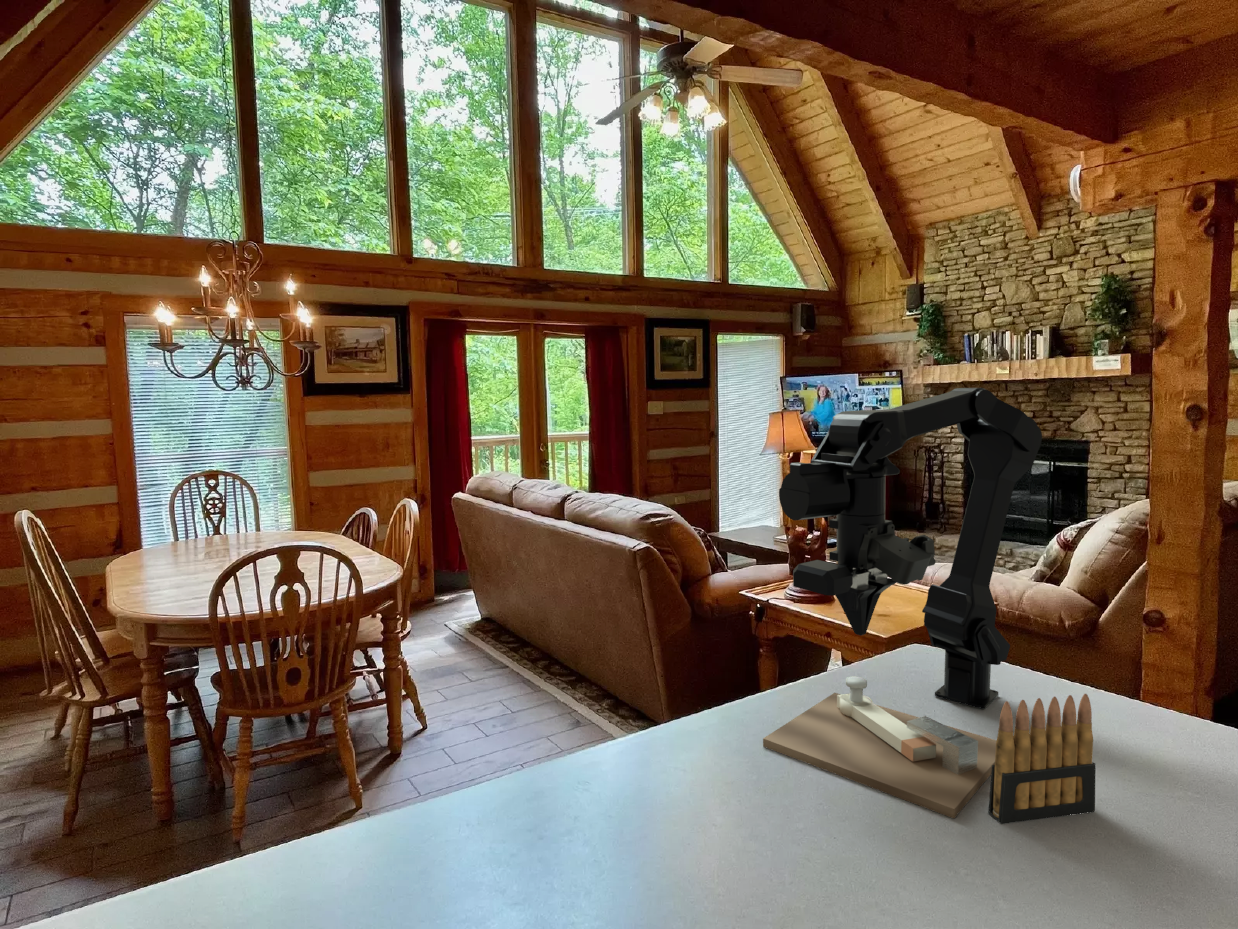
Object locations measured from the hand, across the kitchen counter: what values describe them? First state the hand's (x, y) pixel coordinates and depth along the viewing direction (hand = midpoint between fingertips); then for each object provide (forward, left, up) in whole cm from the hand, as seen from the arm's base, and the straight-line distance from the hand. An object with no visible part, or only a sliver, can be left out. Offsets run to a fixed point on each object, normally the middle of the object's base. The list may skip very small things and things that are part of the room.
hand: (860, 634), depth 91 cm
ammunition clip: (+6, +22, -12) cm, 26 cm away
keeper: (+4, +12, -11) cm, 16 cm away
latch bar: (+2, +4, -11) cm, 12 cm away
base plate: (+4, +5, -12) cm, 14 cm away
